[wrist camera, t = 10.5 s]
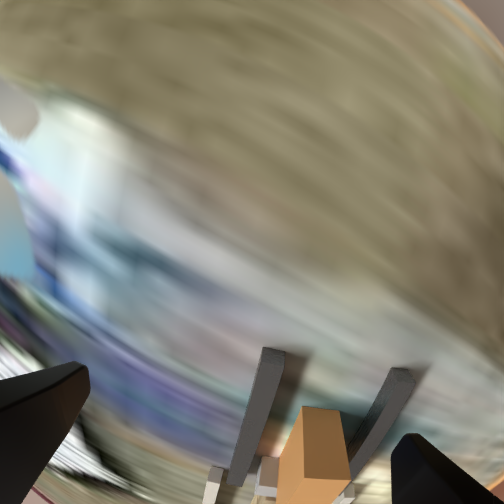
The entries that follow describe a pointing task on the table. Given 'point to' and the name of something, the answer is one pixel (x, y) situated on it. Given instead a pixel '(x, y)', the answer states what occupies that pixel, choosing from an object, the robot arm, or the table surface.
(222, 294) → the table surface
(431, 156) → the table surface
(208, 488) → the tray
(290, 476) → the tan rectangular block
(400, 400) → the slot rails
